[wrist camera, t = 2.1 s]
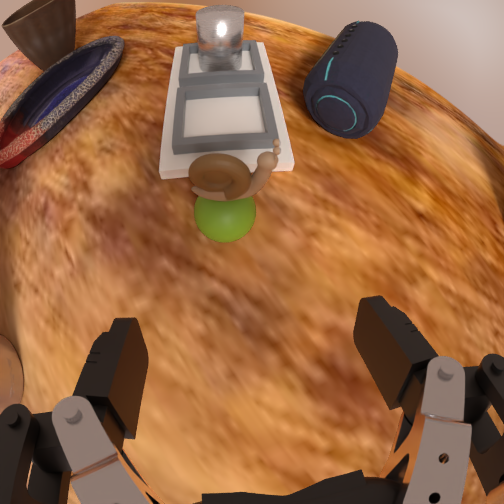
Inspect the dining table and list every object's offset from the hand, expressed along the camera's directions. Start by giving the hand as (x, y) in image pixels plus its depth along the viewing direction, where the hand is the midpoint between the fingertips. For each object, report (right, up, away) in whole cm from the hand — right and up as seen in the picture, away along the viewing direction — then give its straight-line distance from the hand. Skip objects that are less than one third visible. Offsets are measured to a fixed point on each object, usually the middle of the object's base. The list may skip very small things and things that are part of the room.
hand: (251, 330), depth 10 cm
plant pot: (-39, +41, +29) cm, 64 cm away
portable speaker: (+14, +26, +27) cm, 40 cm away
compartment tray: (-4, +23, +25) cm, 34 cm away
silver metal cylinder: (-4, +29, +25) cm, 39 cm away
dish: (-30, +26, +24) cm, 47 cm away
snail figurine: (-2, +5, +18) cm, 19 cm away
